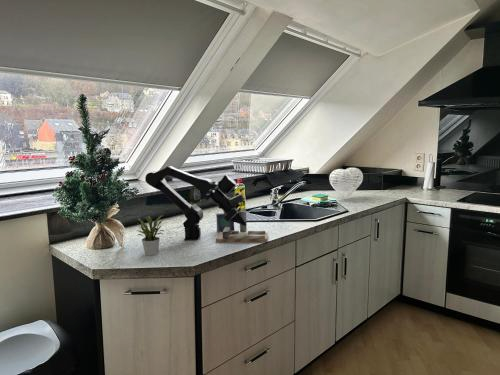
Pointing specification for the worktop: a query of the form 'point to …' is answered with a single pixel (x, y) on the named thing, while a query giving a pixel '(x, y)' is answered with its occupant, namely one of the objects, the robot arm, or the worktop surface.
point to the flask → (223, 222)
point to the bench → (241, 236)
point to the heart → (341, 171)
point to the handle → (243, 228)
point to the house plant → (150, 236)
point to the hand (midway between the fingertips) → (246, 223)
